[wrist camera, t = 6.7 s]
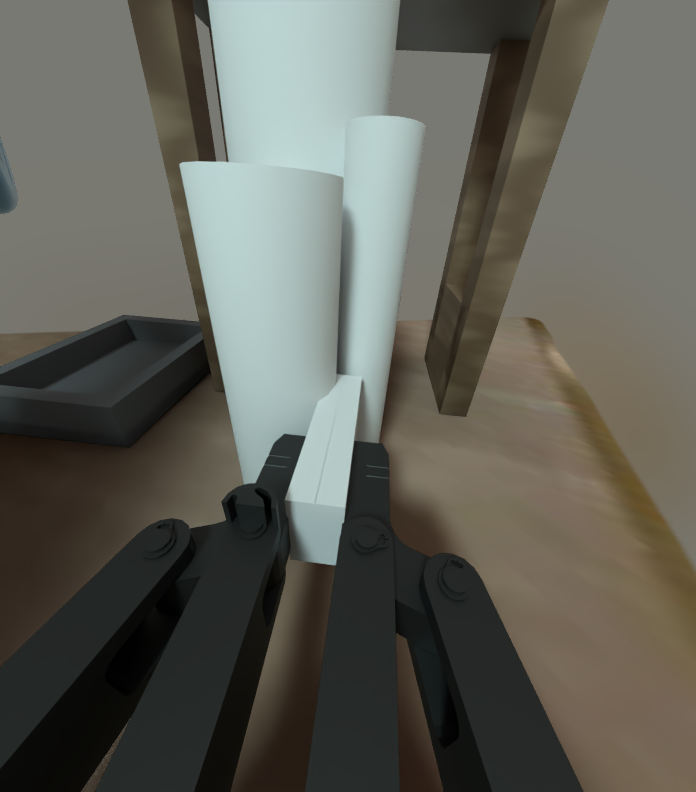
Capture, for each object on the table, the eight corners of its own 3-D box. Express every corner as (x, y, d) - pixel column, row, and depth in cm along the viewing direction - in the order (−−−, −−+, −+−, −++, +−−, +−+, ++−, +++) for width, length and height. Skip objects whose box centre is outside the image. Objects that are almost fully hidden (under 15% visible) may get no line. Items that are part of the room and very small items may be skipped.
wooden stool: (214, 390, 24) (95, -141, 11) (258, 342, 32) (219, 9, 19) (465, 416, 23) (655, -137, 10) (443, 360, 31) (531, 19, 18)
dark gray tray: (-23, 430, 19) (-56, 390, 17) (134, 343, 30) (123, 314, 29) (128, 447, 18) (110, 407, 16) (228, 352, 30) (223, 323, 28)
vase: (267, 400, 23) (223, 1, 12) (358, 399, 24) (393, 25, 13) (238, 537, 14) (-63, -663, 3) (390, 527, 15) (604, -423, 4)
